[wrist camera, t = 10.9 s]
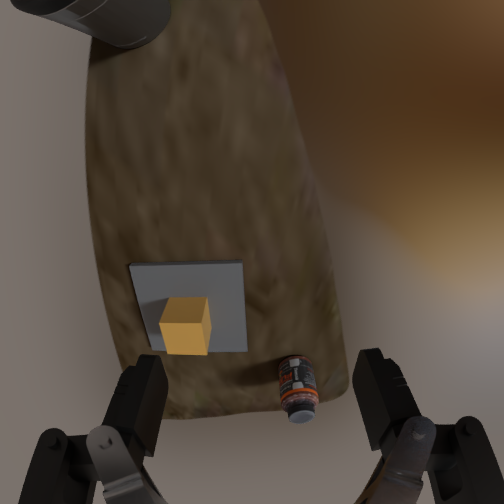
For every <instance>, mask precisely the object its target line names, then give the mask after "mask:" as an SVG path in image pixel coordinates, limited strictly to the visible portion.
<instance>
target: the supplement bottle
mask: <svg viewBox="0 0 504 504" xmlns="http://www.w3.org/2000/svg"><path fill="white" fill-rule="evenodd" d="M278 373H279V384H280V396H281V406H282V409H283V410H284V411H285V412H287V413H288V417H289V420H290V422H292V423H296V424H302V423H306V422H309V421H311V420H312V419H313V418H314V417H315V412H314V411H315V410H314V409H315V408H316V406H317V405H318V401H319V400H318V393H317V388H316V383H315V378H314V373H313V368H312V364H311V361H310V360H309V359H308V358H306V357H303V356H291V357H288V358H286V359H284V360H283V361H282V362H281V363H280V365H279V368H278Z"/></svg>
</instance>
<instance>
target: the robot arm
mask: <svg viewBox="0 0 504 504" xmlns="http://www.w3.org/2000/svg"><path fill="white" fill-rule="evenodd" d="M11 3H12V4H13V6H14V7H16V8H17V9H19V10H21V11H23V12H26V13H30V14H33V15H36V16H40V17H43V18H46V19H49V20H51V21H55V22H57V23H60V24H63V25H65V26H68V27H71V28H73V29H76V30H78V31H81V32H83V33H86V34H88V35H91V36H93V37H95V38H98V39H100V40H102V41H104V42H107V43H109V44H111V45H113V46H115V47H119V48H122V49H131V48H137V47H140V46H143V45H145V44H147V43H148V42H150V41H152V40H153V39H154V38H156V37H157V36H158V35H159V34H160V33H161V32H162V30H163V29H164V28H165V26H166V24H167V22H168V20H169V17H170V4H169V1H168V0H11ZM352 383H353V388H354V392H355V395H356V398H357V401H358V405H359V408H360V411H361V414H362V418H363V422H364V425H365V428H366V432H367V435H368V439H369V442H370V446H371V450H372V451H374V450H379V449H381V452H382V456H381V458H380V460H379V462H378V464H377V466H376V468H375V470H374V472H373V474H372V475H371V477H370V479H369V481H368V483H367V485H366V486H365V488H364V490H363V492H362V493H361V495H360V496H359V497H358V499H357V500H356V502H355V503H354V504H416V502H417V500H418V497H419V495H420V493H421V490H422V488H423V481H422V480H421V478H422V475H423V472H424V471H427V472H428V475H429V479H430V483H431V487H432V491H433V496H434V500H435V504H504V480H503V477H502V474H501V471H500V468H499V465H498V463H497V460H496V457H495V454H494V452H493V450H492V447H491V444H490V442H489V440H488V437H487V435H486V432H485V430H484V428H483V425H482V424H481V422H480V421H479V420H478V419H476V418H475V417H472V416H466V417H462V418H461V419H459V420H458V422H457V423H456V424H452V425H451V424H450V425H438V424H434V423H433V422H432V421H431V420H430V419H428V418H427V417H424V416H422V415H421V413H420V411H419V409H418V407H417V404H416V402H415V400H414V398H413V395H412V393H411V391H410V389H409V387H408V386H407V382H406V380H405V378H404V377H403V374H402V372H401V370H400V367H399V366H398V365H397V364H396V363H395V362H394V361H393V360H391V358H389V359H384V357H383V355H382V352H381V350H380V349H379V348H372V349H364V350H360V352H359V355H358V358H357V362H356V365H355V369H354V372H353V377H352ZM167 394H168V379H167V376H166V373H165V370H164V367H163V364H162V361H161V358H160V356H159V355H145V354H141V355H140V356H139V358H138V361H137V364H136V366H129V367H128V368H127V369H126V370H125V371H124V372H123V373H122V374H121V376H120V378H119V381H118V384H117V387H116V389H115V391H114V394H113V396H112V399H111V401H110V404H109V407H108V409H107V412H106V415H105V417H104V420H103V422H102V425H101V426H98V427H96V428H94V429H93V430H91V431H90V433H89V434H87V435H77V436H67V435H66V434H65V433H64V432H63V431H62V430H60V429H57V428H51V429H48V430H46V431H44V432H43V433H42V434H41V436H40V438H39V441H38V443H37V446H36V449H35V451H34V454H33V457H32V460H31V463H30V466H29V469H28V472H27V475H26V478H25V482H24V485H23V488H22V492H21V495H20V499H19V503H18V504H92V503H93V497H94V492H95V487H96V483H97V481H101V482H102V484H103V486H104V491H103V496H104V499H105V501H106V503H107V504H168V503H167V502H166V501H165V499H164V498H163V496H162V495H161V493H160V492H159V490H158V489H157V487H156V485H155V484H154V482H153V481H152V479H151V477H150V476H149V474H148V472H147V471H146V469H145V467H144V466H143V460H144V456H148V457H153V456H154V451H155V446H156V442H157V437H158V433H159V428H160V424H161V420H162V415H163V411H164V407H165V403H166V399H167Z"/></svg>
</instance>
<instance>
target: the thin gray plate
mask: <svg viewBox="0 0 504 504" xmlns="http://www.w3.org/2000/svg"><path fill="white" fill-rule="evenodd" d="M129 268H130V272H131V276H132V280H133V284H134V288H135V292H136V296H137V299H138V303H139V307H140V310H141V314H142V317H143V321H144V324H145V327H146V331H147V334H148V337H149V340H150V343H151V347H152V350H161V351H167V349H166V346H165V343H164V339H163V336H162V332H161V328H160V325H159V322H160V319H161V317H162V314H163V312H164V309H165V307H166V304H167V302H168V299H169V297H207V300H208V307H209V314H210V320H211V327H212V328H211V334H210V340H209V346H208V352H247V348H248V347H247V331H246V315H245V298H244V281H243V264H242V260H220V261H187V262H151V263H131V264H130V266H129Z"/></svg>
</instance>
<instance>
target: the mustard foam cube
mask: <svg viewBox="0 0 504 504" xmlns="http://www.w3.org/2000/svg"><path fill="white" fill-rule="evenodd" d="M159 325H160V328H161V332H162V336H163V339H164V343H165V346H166V349H167V353H168V354H184V355H207V352H208V346H209V340H210V334H211V328H212V327H211V320H210V314H209V307H208V300H207V297H169V299H168V302H167V304H166V307H165V309H164V312H163V314H162V317H161V319H160V322H159Z"/></svg>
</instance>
